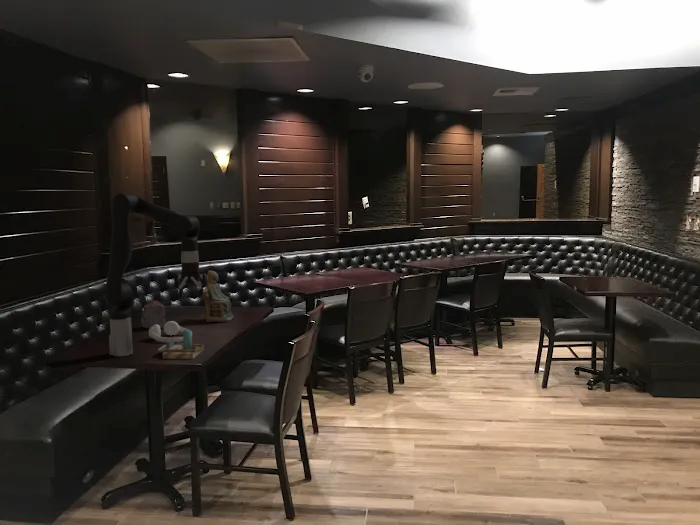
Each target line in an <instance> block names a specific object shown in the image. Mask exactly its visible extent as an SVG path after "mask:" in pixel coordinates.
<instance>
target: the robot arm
mask: <svg viewBox="0 0 700 525" xmlns="http://www.w3.org/2000/svg"><path fill="white" fill-rule="evenodd" d="M111 212H112V213H111V216H112V217H111V218H112V219H111V220H112V221H111V222H112V224H111V225H112V226H111V239H110V247H109V249H110V250H109V264H108V271H107V273H108V274H107V277H106V278H107V279H106V283H105V290H104V298H105V301H106V302H107V303H108V304H109V305H111V306H114V308H113V309H112V310H111V311H110V312H109V327H110V334H109V335H108V341H109V343H108V344H109V356H111V355H113V357H126V356H130V354H131V355H132V354H133V353H134V347H133V330H132V329H133V328H132V327H133V326H132V312H133V304H134V303H133V299H134V298H133V290H132V287H131V286H130V285H129V284H128V283H126V282H123V278H124V276H123V275H124V273H125V271H126V269H127V267H128V266H129V263H130V261H131V259H132V254H133V238H132V236H131V235H132V234H131V233H130V231H129V230H130V229H129V224H128V222H129V216H130V215H129V214H131V213H135V214H140V215H144V216H146V217H149V218H151V219H152V220H154V221H156V222H157V223H160V224H162V225H166V226H169V227H172V228H173V229H175V230H177V231H179V232H181V233H182V232H183V233H184V237H183V238H182V239H181V242H180V245H181V246H180V247H181V255H180V258H181V259H180V261H181V262H180V264H181V274H180V273H175V274H174V288H175V289H178V295H179V297H180V298H183V297H184V296H185V295H184V287H185V285H186V284H187V285H189V284H190V285H193V284H195V285H196V286H197V287H198V297H199V298H202V297H203V290H204V289H205V288H206V287H207V286H208V285H207V281H208V279H207V275H208V274H207V273H203V274H202V273H201V274H200V258H199V249H198V248H199V247H198V245H199V244H198V239H199V237H200V236H199V234H200V228H201V226H200V220H199V219H198V218H197V217H196V216H193V215H189V216H187V215H182V214H179V212H177V211H175V210H172V209H170V208H166V207H163V206H160V205H157V204H154V203H152V202H149V201H147V200H146V199H144V198H141V196H138V195H136V194H134V193H131V192H119V193H116V194H115V195H114V196H113V198H112V201H111ZM180 279H182V281H181V283H180ZM200 279H201V280H202V282H201V281H200Z"/></svg>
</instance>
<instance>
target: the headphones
mask: <svg viewBox="0 0 700 525" xmlns="http://www.w3.org/2000/svg"><path fill="white" fill-rule="evenodd" d="M161 329H162V328H161ZM161 329H160V326H159V325H157V324H156V325H154V326H153V327H151V328H148V336H149V337H150V338H151V339H153V340H155V341H157V342H161V343H166V342H167V341H169V340H170V339H174V344H176V343H182V341H183V336H181V337H179V336H177V337H172V335H174V336H176V335H177V334H179V332H181V333H183V331H184V330H189V329H188V328H185V327H183V326H181V325H180V324H178V323H177V322H176V321H175V320H171V321H170V320H169V321H166V323H165V326H164V327H163V331H164V333H165V335H168V336H169V335H170V336H169V337H164V336H162V334H161V333H162V330H161ZM191 333H192V334H193V332H192V331H191ZM175 342H176V343H175Z"/></svg>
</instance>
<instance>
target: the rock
mask: <svg viewBox="0 0 700 525" xmlns="http://www.w3.org/2000/svg"><path fill="white" fill-rule="evenodd" d="M142 309H143V310H142V312H141V319H140V322H141V323H140V324H141V326H142V327H143V328H144V329H150V328H151V327H153V326H154V325H156V324H157V325H159V326H160V329H164V326H165V324H166V323H167V321H166V312H167V311H166V308H165V306H164V305H163V304H162V303H161V302H160V301H158V300H152V301H151V302H149V303H146V304H145V305H143V308H142Z"/></svg>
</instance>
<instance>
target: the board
mask: <svg viewBox="0 0 700 525" xmlns="http://www.w3.org/2000/svg"><path fill="white" fill-rule="evenodd" d="M174 345H182V347H181V348H180V349H165V351H163V353H162V359H168V360H169V359H170V360H171V359H172V360H173V359H175V360H177V359H178V360H179V359H180V360H186V359H187V360H188V359H190V360H192V359H193V360H194V358H196V357H197V356H198V355H200V354H201V353H202V352H203V351H204V350H205V345H204V344H202V343H192V350H187V349H184V345H183V343H174Z"/></svg>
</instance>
